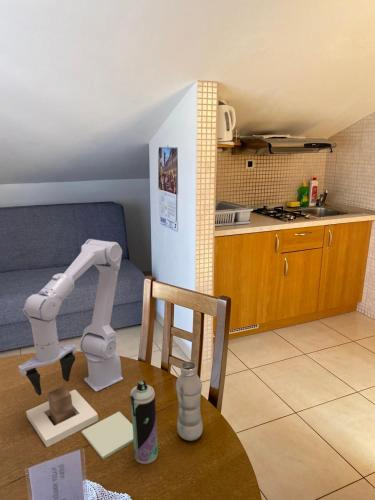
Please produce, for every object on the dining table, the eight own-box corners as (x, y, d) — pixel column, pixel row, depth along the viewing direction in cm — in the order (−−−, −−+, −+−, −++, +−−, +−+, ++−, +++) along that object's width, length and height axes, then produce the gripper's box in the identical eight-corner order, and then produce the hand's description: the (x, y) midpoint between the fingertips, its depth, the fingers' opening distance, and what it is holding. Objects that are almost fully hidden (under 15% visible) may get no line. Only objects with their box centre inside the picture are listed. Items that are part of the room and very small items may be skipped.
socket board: (75, 395, 114) (74, 389, 114) (98, 420, 104) (97, 414, 103) (27, 417, 106) (26, 411, 105) (46, 447, 95) (45, 440, 95)
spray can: (148, 467, 89) (143, 393, 83) (129, 457, 92) (124, 385, 86) (162, 451, 93) (159, 379, 88) (144, 442, 96) (139, 372, 90)
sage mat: (119, 413, 106) (119, 411, 106) (142, 436, 98) (141, 433, 98) (81, 433, 100) (81, 431, 99) (102, 459, 91) (102, 456, 91)
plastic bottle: (184, 448, 94) (183, 377, 88) (172, 430, 100) (170, 362, 94) (207, 438, 97) (207, 369, 91) (194, 421, 103) (193, 355, 97)
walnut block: (67, 410, 108) (63, 386, 106) (74, 419, 105) (70, 394, 102) (51, 418, 105) (47, 393, 103) (57, 427, 102) (54, 401, 99)
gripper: (64, 324, 105) (70, 368, 109) (10, 345, 96) (18, 392, 100) (78, 333, 101) (83, 378, 105) (22, 356, 91) (30, 405, 95)
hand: (52, 386), depth 102 cm, fingers open, 7 cm apart
